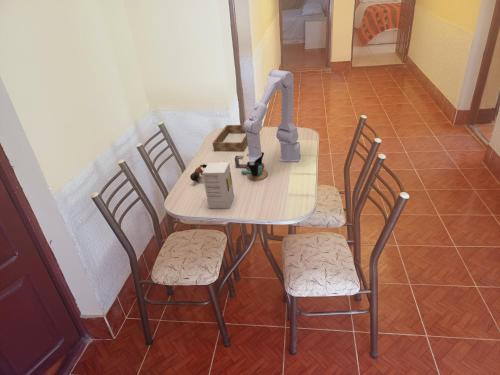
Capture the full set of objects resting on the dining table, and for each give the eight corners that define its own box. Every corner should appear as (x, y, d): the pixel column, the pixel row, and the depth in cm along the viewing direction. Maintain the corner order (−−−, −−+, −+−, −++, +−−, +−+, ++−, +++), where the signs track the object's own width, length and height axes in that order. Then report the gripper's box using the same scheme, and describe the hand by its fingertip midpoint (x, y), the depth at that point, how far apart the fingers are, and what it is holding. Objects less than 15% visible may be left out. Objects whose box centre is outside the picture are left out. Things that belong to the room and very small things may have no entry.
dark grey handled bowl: (265, 163, 178) (265, 153, 175) (262, 171, 170) (261, 161, 167) (238, 162, 181) (237, 152, 178) (234, 170, 174) (232, 160, 171)
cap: (263, 171, 169) (262, 163, 167) (260, 177, 165) (259, 168, 162) (244, 170, 172) (243, 162, 170) (240, 175, 168) (239, 167, 166)
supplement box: (230, 209, 146) (224, 173, 137) (208, 208, 148) (201, 173, 139) (234, 196, 154) (229, 161, 145) (214, 196, 156) (207, 162, 147)
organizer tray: (254, 132, 213) (253, 124, 211) (243, 151, 192) (242, 143, 189) (227, 132, 217) (226, 125, 215) (213, 151, 196) (212, 143, 194)
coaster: (269, 170, 171) (269, 169, 170) (265, 180, 162) (265, 179, 162) (249, 169, 173) (249, 168, 173) (244, 180, 165) (244, 179, 165)
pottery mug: (201, 174, 176) (206, 161, 172) (213, 186, 173) (219, 173, 168) (183, 179, 167) (188, 165, 162) (195, 192, 164) (201, 178, 159)
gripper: (249, 138, 167) (252, 164, 174) (241, 152, 155) (244, 179, 162) (264, 138, 165) (266, 164, 172) (257, 152, 153) (260, 179, 160)
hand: (257, 171), depth 167 cm, fingers open, 7 cm apart
